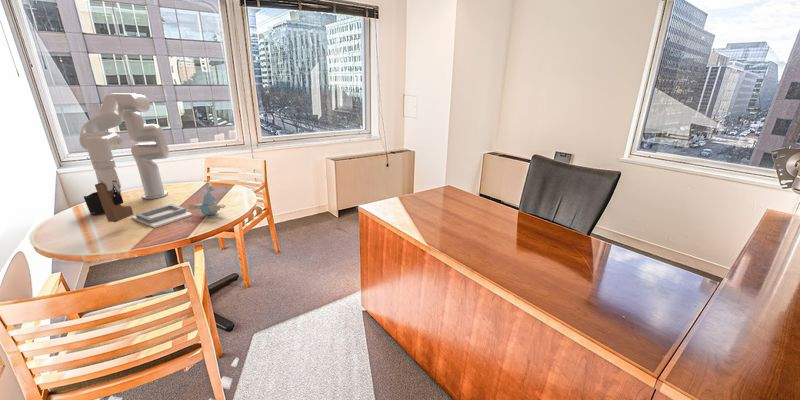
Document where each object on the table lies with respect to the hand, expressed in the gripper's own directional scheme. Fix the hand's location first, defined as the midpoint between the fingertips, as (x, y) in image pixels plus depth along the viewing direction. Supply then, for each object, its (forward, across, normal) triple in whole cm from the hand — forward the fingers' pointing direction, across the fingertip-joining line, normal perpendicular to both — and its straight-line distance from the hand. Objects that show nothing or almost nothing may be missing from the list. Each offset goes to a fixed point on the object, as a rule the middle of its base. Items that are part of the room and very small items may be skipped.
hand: (116, 202), depth 152 cm
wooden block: (+8, 0, 0) cm, 8 cm away
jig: (+14, +1, +16) cm, 21 cm away
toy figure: (+14, +19, +31) cm, 39 cm away
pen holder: (+14, -33, +3) cm, 36 cm away
